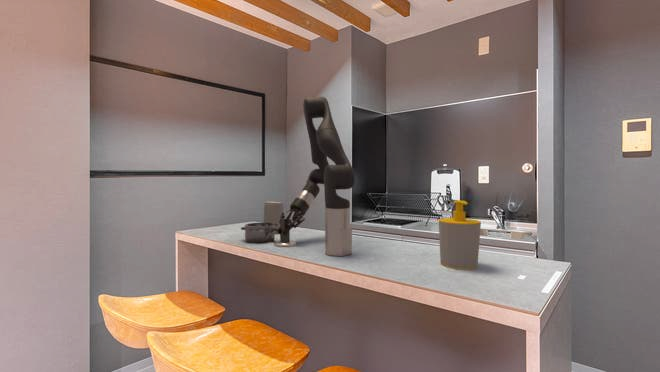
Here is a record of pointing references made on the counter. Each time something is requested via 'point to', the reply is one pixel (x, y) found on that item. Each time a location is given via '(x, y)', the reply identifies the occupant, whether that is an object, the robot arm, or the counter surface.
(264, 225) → the pot
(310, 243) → the counter surface
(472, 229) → the soap bottle
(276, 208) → the skincare box
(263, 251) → the counter surface
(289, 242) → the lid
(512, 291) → the counter surface
